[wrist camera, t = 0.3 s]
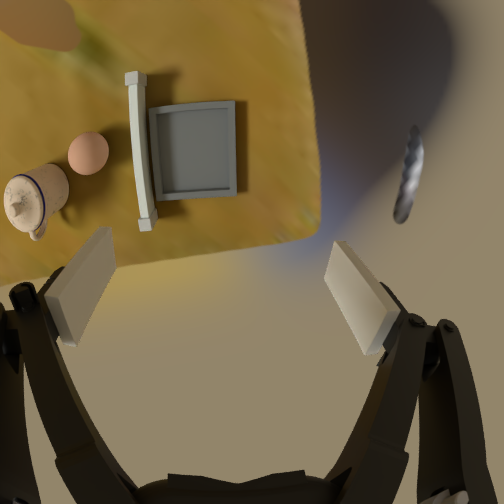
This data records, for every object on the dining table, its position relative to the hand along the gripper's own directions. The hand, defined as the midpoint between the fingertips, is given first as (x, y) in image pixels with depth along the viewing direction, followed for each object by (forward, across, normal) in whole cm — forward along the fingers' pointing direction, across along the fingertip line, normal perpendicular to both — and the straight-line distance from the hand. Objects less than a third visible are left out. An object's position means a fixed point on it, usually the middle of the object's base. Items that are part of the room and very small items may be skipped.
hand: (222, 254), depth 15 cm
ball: (+24, -20, +2) cm, 31 cm away
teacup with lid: (+27, -30, -5) cm, 41 cm away
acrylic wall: (+27, -12, +2) cm, 29 cm away
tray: (+27, -4, +2) cm, 27 cm away
